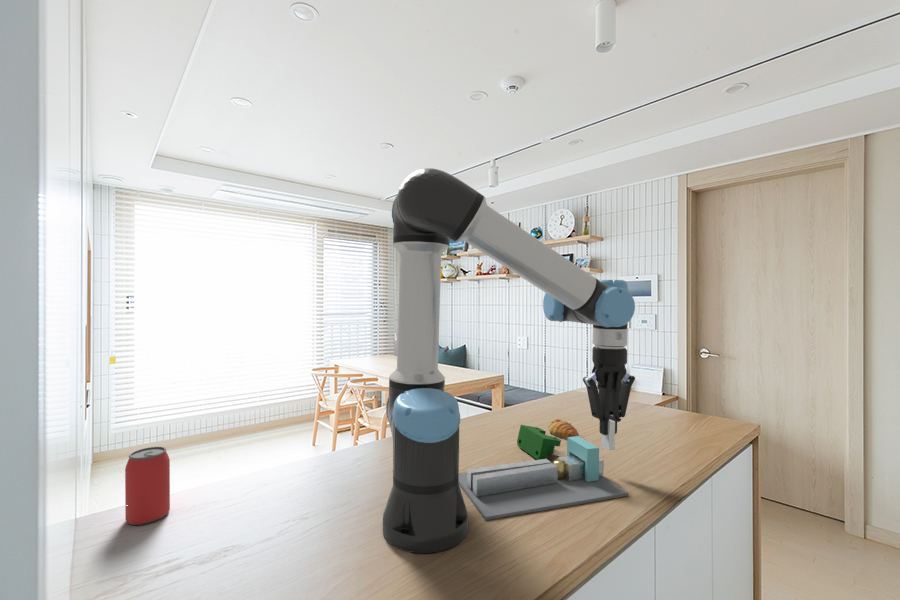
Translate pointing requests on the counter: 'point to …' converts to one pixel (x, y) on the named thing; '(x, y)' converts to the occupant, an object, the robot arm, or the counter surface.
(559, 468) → the tongs body
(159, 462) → the beer can
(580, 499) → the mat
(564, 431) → the pastry
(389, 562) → the counter surface
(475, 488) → the arm
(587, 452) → the collar
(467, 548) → the counter surface
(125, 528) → the counter surface
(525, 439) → the clamp
